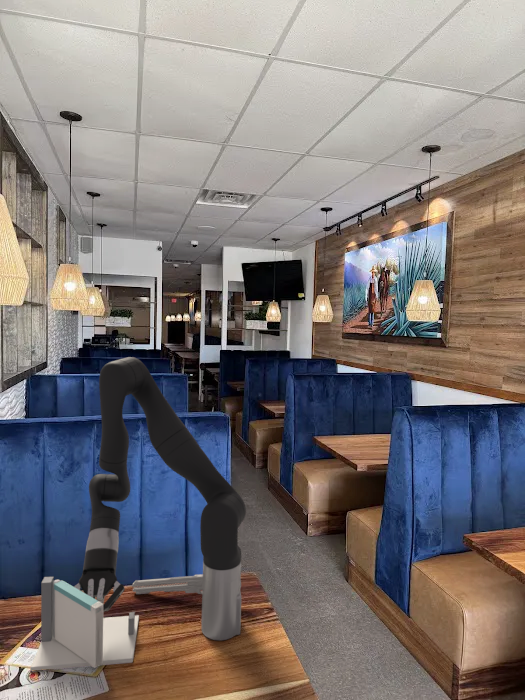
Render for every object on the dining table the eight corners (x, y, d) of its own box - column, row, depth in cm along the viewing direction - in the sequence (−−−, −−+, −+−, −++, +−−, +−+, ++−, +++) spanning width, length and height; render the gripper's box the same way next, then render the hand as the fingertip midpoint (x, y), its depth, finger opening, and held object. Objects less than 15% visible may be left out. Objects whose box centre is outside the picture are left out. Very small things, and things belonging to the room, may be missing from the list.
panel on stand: (138, 619, 118) (139, 561, 117) (132, 662, 103) (133, 596, 102) (50, 625, 114) (50, 566, 113) (30, 671, 100) (30, 603, 99)
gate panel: (102, 662, 101) (103, 603, 100) (94, 668, 99) (95, 608, 98) (58, 632, 110) (59, 578, 109) (50, 637, 108) (50, 582, 107)
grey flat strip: (242, 602, 124) (238, 573, 124) (135, 609, 128) (130, 582, 128) (243, 597, 126) (239, 570, 126) (137, 605, 130) (133, 578, 130)
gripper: (70, 547, 111) (56, 631, 100) (128, 545, 113) (121, 627, 102) (75, 557, 117) (63, 638, 106) (130, 555, 119) (123, 633, 108)
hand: (91, 632), depth 104 cm, fingers closed
